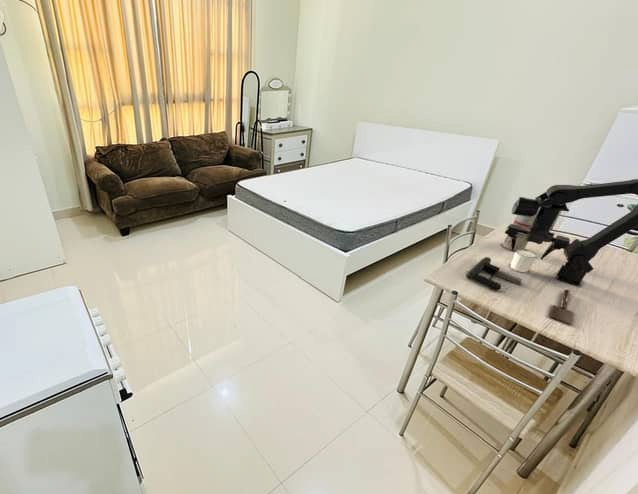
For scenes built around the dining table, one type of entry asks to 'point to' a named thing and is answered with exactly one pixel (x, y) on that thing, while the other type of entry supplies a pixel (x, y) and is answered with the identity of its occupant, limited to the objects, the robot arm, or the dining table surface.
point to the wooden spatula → (562, 310)
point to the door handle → (490, 269)
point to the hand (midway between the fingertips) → (526, 254)
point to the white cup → (523, 260)
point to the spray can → (521, 241)
